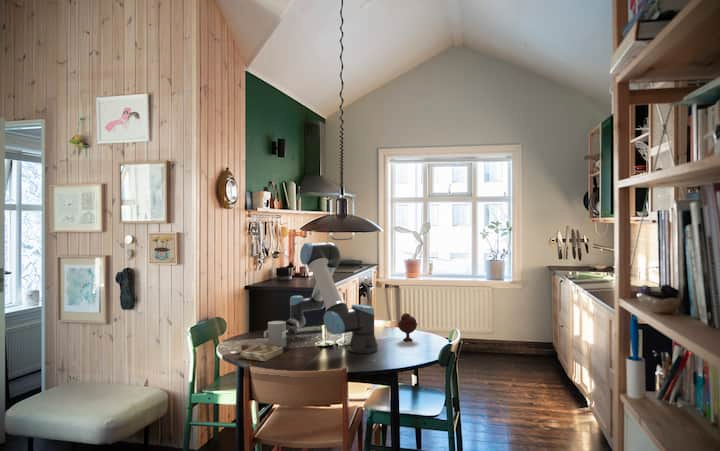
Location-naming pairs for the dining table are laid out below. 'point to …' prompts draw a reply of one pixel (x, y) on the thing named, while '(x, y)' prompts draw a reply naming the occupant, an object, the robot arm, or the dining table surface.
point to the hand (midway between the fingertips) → (273, 335)
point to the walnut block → (245, 346)
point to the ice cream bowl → (407, 325)
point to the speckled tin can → (276, 333)
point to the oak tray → (261, 352)
